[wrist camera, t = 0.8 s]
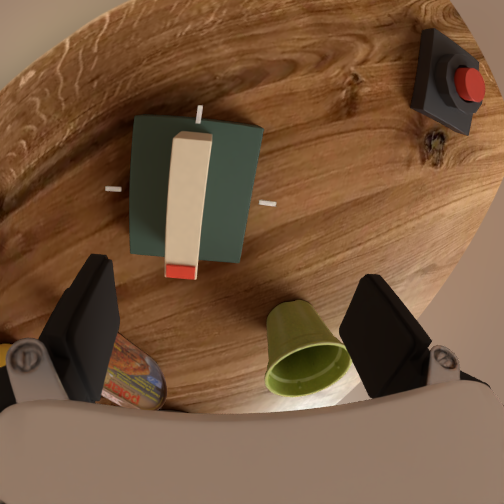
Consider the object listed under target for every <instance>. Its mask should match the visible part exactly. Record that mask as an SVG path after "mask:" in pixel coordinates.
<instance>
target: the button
mask: <svg viewBox="0 0 504 504" xmlns="http://www.w3.org/2000/svg"><path fill="white" fill-rule="evenodd" d="M454 83H455V87H456V91H457V93H458V95H459V96H460V97H461V98H462V99H464V100H468V101H474V102H480V101H482V99H483V98H484V95H485V84H484V80H483V78H482V76H481V74H480V73H479V71H478V70H476V69H474V68H463V67H460V68H458V69H457V70H456V71H455V75H454Z"/></svg>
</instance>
